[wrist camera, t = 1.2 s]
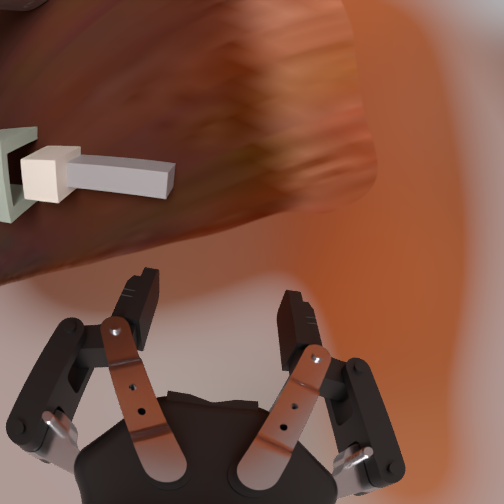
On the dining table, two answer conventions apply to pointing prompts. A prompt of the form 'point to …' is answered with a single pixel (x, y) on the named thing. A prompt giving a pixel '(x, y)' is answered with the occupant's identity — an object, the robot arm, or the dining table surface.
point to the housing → (3, 193)
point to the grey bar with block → (91, 174)
